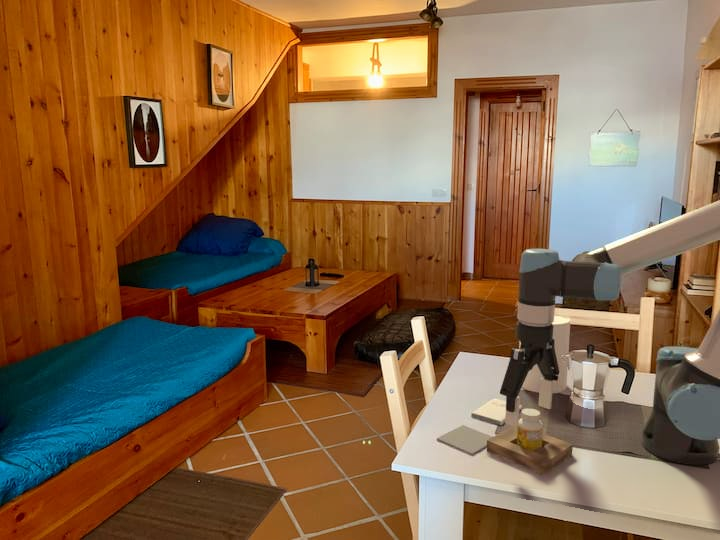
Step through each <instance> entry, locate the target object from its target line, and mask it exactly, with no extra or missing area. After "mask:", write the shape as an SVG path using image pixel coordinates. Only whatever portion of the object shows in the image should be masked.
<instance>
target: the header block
mask: <svg viewBox="0 0 720 540" xmlns="http://www.w3.org/2000/svg"><path fill="white" fill-rule="evenodd" d="M517 428H518V427H514V426H510V427H508V428H507V429H504V430H503V431H501V432H499V433H498V434H496V435H494V436H492V438H490V439H488V440H487V447H486V452H488V453H491V454H494V455H496V456H498V457H501V458H503V459H504V460H505V459H506V460H508V461H509V462H512V463H514V464H518V465H520V466H522V467H524V468H527V469H529V470H532V471H534V472H536V473H538V474H541V475H546V474H547V473H549V472H550V471H551V470H553V469H554V468H556V467H557V466H559V465H560V464H562V463H563V462H564V461H565V460H567V459H568V458H570V457H571V456H572V455H573V449H574V448H573V445H574V444H573V443H570V442H568V441H565V440H562V439H559V438H557V437H553V436H550V435H548V434H545V433H543V437H542V448H540V449H539V450H537V451H536V452H534V451H531V450H528V449H526V448H523V447H521V446H518V445H517Z"/></svg>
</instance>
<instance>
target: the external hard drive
mask: <svg viewBox="0 0 720 540" xmlns="http://www.w3.org/2000/svg"><path fill="white" fill-rule="evenodd" d="M522 410H523V405H522V404H520V406H519V412H521V411H522ZM470 416H471V417H473V418H476V419H479V420H482V421H486V422H488V423H492V424H496V425H499V426H502V425H503V424H504V423H505V416H506V400H503V399H500V398H492V399H491V400H490V401H488V402H486V403H484V404H483V405H482V406H480V407H478V408H477V409H476V410H474V411H473V412H471V415H470ZM505 424H506V423H505Z"/></svg>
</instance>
